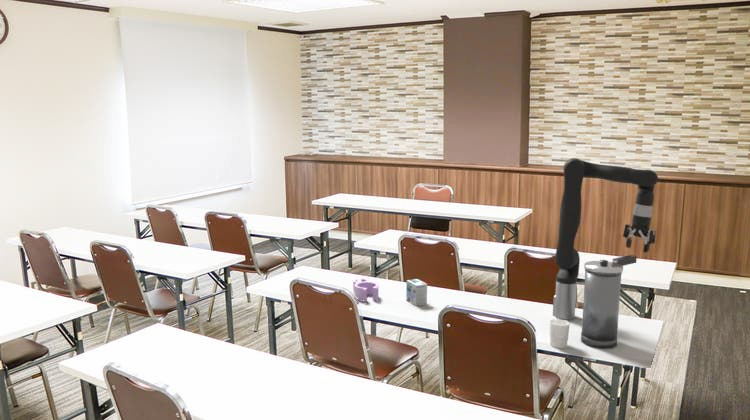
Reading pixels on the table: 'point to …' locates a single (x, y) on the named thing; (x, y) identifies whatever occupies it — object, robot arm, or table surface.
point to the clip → (365, 289)
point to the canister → (601, 309)
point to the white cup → (559, 333)
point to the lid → (610, 265)
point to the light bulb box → (416, 292)
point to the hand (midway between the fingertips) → (636, 249)
